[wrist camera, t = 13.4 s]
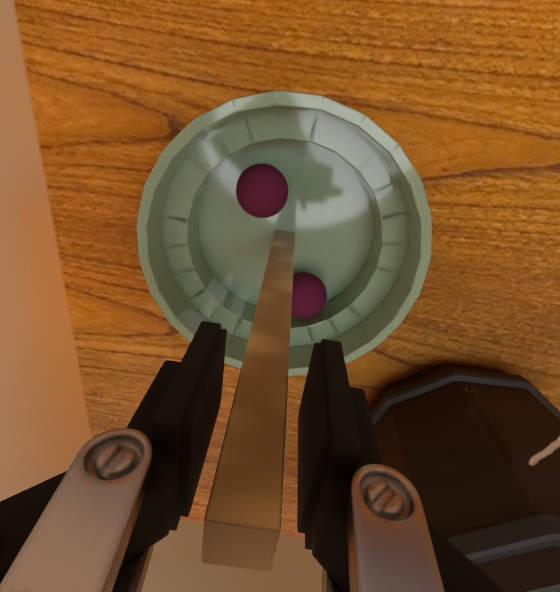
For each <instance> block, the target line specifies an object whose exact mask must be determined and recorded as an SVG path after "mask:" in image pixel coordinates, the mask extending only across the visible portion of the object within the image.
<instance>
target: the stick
mask: <svg viewBox="0 0 560 592" xmlns="http://www.w3.org/2000/svg"><path fill="white" fill-rule="evenodd" d="M294 248H295V233H293V232H286V231H280V230H275V233H274V237H273V241H272V245H271V249H270V253H269V257H268V261H267V265H266V269H265V274H264V278H263V282H262V286H261V290H260V294H259V298H258V302H257V306H256V310H255V314H254V318H253V322H252V327H251V331H250V335H249V339H248V343H247V347H246V351H245V355H244V359H243V363H242V367H241V371H240V376H239V380H238V384H237V388H236V392H235V396H234V400H233V404H232V408H231V412H230V416H229V420H228V424H227V429H226V433H225V437H224V441H223V445H222V449H221V453H220V457H219V461H218V465H217V469H216V473H215V477H214V482H213V486H212V490H211V494H210V498H209V502H208V506H207V510H206V514H205V518H204V530H203V545H202V557H201V561H202V562H203V563H208V564H215V565H222V566H229V567H236V568H244V569H251V570H258V571H265V572H269V571H271V568H272V564H273V559H274V555H275V551H276V546H277V542H278V538H279V533H280V528H281V508H282V488H283V468H284V448H285V428H286V408H287V388H288V368H289V348H290V328H291V308H292V288H293V268H294Z"/></svg>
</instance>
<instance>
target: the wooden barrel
mask: <svg viewBox="0 0 560 592" xmlns="http://www.w3.org/2000/svg"><path fill="white" fill-rule="evenodd" d="M369 412H370V416H371V420H372V424H373V428H374V432H375V436H376V441H377V445H378V449H379V453H380V457H381V461H382V465H385V466H388V467H391V468H393V469H395V470H396V471H398V472H400V473H402V474H403V475H404V476H405V477H406V478H407V479H408V480H409V481H410V482H411V483H412V484H413V486H414V487H415V489H416V490H417V492H418V494H419V497H420V499H421V502H422V506H423V510H424V513H425V517H426V521H427V523H428V524H429V525H431V526H432V527H433V528H434V529H435V530H436V531H437V532H439V533H440V534H441V535H442V536H443V537H444V538H445V539H447V540H448V541H449V542H450V543H451V544H452V545H453V546H455V547H456V548H457V549H458V550H459V551H460V552H461V553H463V554H464V555H465V556H466V557H467V558H468V559H469V560H470V561H472V562H473V563H474V564H475V565H476V566H477V567H478V568H480V569H481V570H482V571H483V572H484V573H485V574H486V575H488V576H489V577H490V578H491V579H492V580H493V581H494V582H496V583H497V584H498V585H499V586H500V587H501V588H502V589H504V590H505V591H506V592H560V411H559V410H558V409H557V408H556V407H554V406H553V405H552V404H551V403H550V402H549V401H548V400H547V399H546V398H545V397H544V396H543V395H542V394H541V393H540V392H539V391H538V390H537V389H536V388H535V387H534V386H533V385H532V384H531V383H530V382H529V381H528V380H527V379H525V378H523V377H522V376H519V375H511V374H506V373H504V372H503V371H502V370H493V369H485V368H476V367H468V366H459V365H450V364H441V365H438V366H435V367H433V368H430V369H428V370H425V371H423V372H420V373H417V374H415V375H412V376H410V377H407V378H405V379H402V380H400V381H397V382H394V383H392V384H389V385H387V386H386V388H385V389H384V390H383V392H382V393H381V394H380V396H379V397H378V398H377V400H376V401H375V402H374V404H373V405H372V406H371V408H370V409H369Z"/></svg>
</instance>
